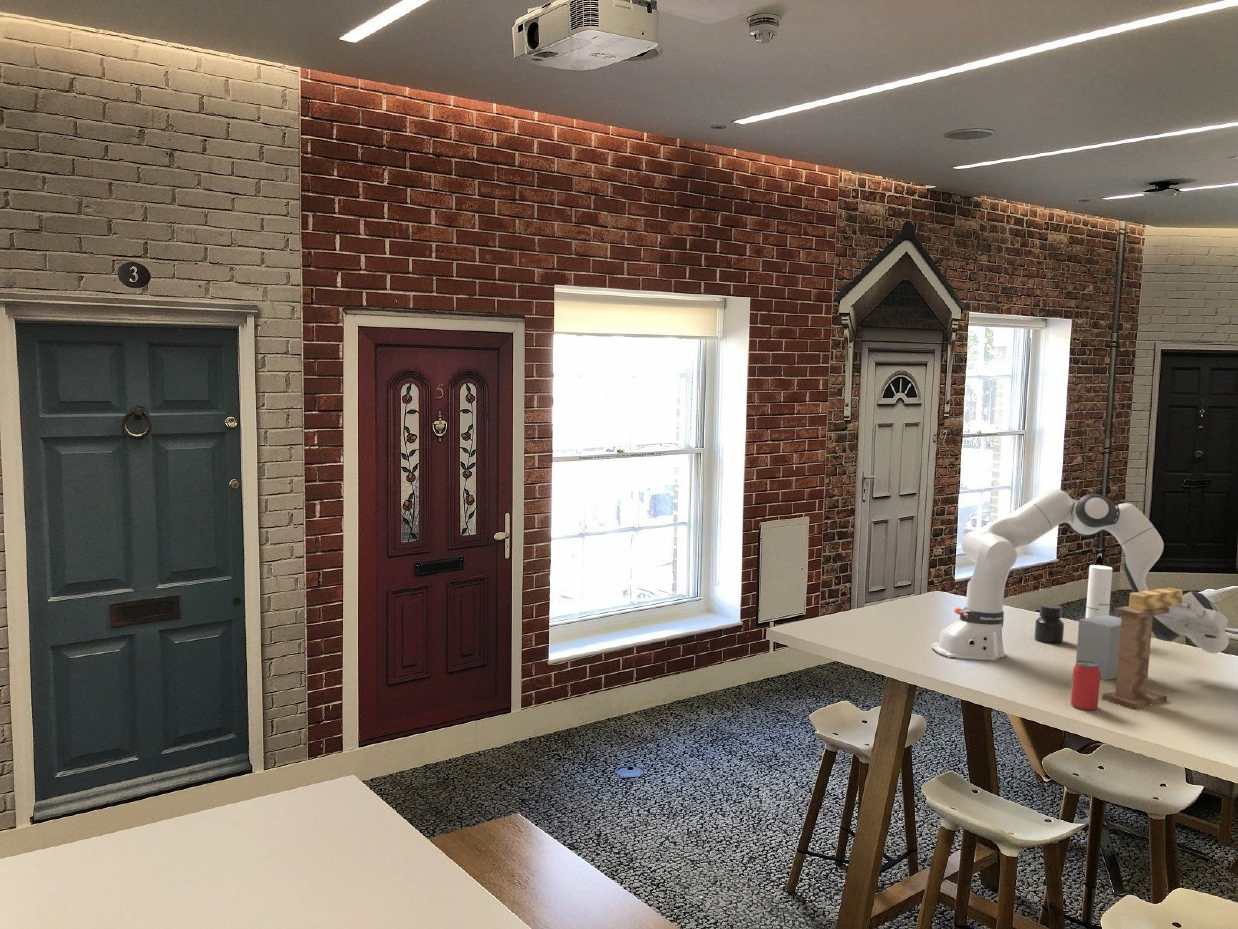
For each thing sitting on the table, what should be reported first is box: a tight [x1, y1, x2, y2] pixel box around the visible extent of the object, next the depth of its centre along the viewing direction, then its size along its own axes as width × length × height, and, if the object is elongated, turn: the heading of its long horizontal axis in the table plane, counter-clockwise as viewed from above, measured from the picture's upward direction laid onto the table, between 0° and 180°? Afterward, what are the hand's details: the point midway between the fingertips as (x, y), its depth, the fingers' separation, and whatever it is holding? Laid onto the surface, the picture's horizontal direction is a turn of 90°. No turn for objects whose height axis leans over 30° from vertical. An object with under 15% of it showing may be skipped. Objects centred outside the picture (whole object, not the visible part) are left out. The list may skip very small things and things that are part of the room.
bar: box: [1128, 587, 1184, 611], centre depth 272 cm, size 19×4×4 cm, turn 121°
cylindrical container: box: [1085, 564, 1113, 618], centre depth 338 cm, size 7×7×25 cm
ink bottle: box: [1034, 603, 1065, 644], centre depth 333 cm, size 10×9×12 cm
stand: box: [1101, 605, 1169, 710], centre depth 270 cm, size 16×9×26 cm, turn 121°
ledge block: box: [1075, 614, 1122, 681], centre depth 297 cm, size 14×10×16 cm
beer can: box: [1070, 661, 1101, 711], centre depth 264 cm, size 7×7×12 cm
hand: (1173, 602), depth 277 cm, fingers open, 8 cm apart
